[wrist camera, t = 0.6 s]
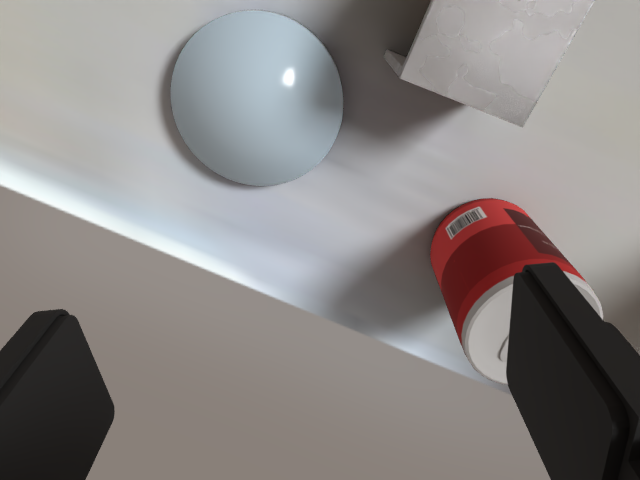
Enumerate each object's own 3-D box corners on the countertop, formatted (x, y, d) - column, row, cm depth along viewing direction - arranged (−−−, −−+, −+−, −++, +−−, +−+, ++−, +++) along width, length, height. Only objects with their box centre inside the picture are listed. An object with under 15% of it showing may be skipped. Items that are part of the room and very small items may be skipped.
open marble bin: (539, -16, 29) (603, -15, 23) (481, 96, 32) (522, 127, 26) (432, -65, 28) (467, -78, 22) (383, 57, 31) (399, 78, 25)
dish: (352, 19, 30) (353, 21, 29) (333, 186, 35) (333, 192, 34) (171, 0, 30) (166, 1, 29) (178, 172, 35) (174, 178, 34)
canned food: (415, 277, 39) (445, 376, 29) (447, 184, 35) (495, 263, 26) (506, 294, 40) (566, 396, 30) (548, 205, 36) (631, 288, 26)
